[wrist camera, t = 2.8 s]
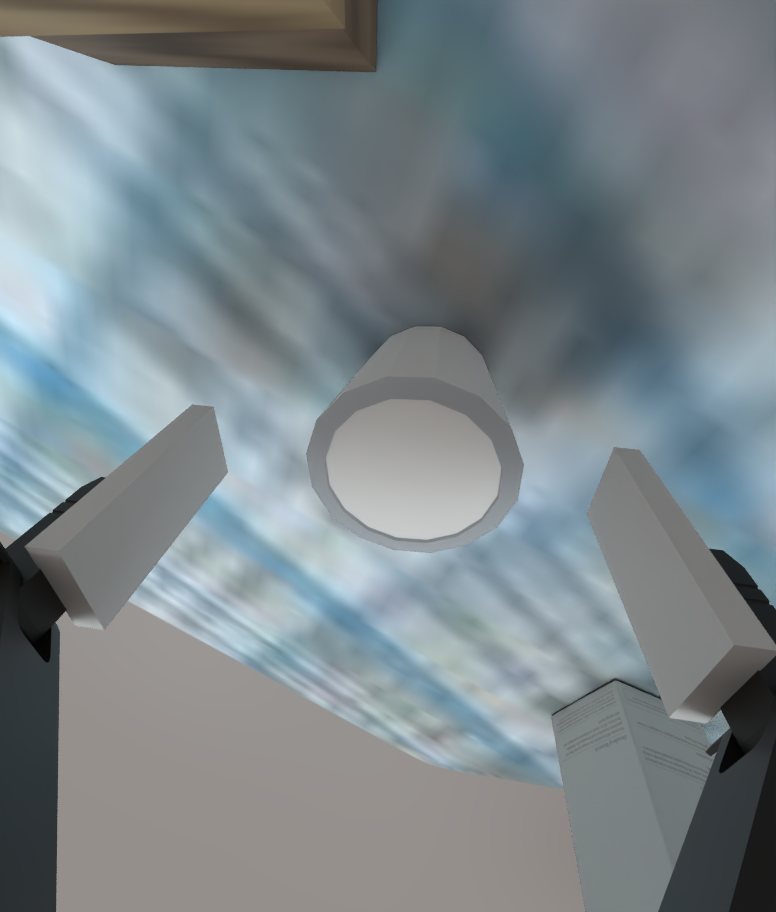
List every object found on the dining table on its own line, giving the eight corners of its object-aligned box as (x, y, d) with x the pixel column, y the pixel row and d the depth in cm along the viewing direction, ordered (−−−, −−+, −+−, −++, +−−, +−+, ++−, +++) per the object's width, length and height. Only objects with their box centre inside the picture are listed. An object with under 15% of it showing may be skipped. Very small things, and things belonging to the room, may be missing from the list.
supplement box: (547, 715, 33) (587, 965, 22) (615, 676, 28) (704, 960, 18) (623, 747, 33) (696, 1001, 23) (700, 713, 29) (831, 1004, 19)
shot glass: (527, 328, 17) (561, 406, 11) (479, 463, 21) (485, 573, 15) (361, 295, 17) (310, 353, 11) (345, 434, 21) (301, 531, 15)
